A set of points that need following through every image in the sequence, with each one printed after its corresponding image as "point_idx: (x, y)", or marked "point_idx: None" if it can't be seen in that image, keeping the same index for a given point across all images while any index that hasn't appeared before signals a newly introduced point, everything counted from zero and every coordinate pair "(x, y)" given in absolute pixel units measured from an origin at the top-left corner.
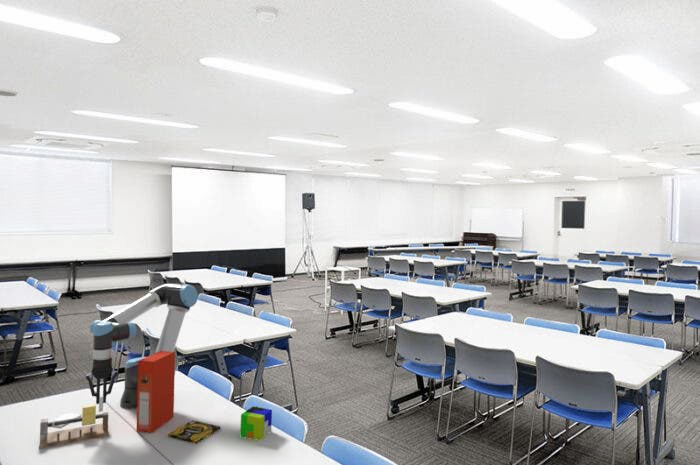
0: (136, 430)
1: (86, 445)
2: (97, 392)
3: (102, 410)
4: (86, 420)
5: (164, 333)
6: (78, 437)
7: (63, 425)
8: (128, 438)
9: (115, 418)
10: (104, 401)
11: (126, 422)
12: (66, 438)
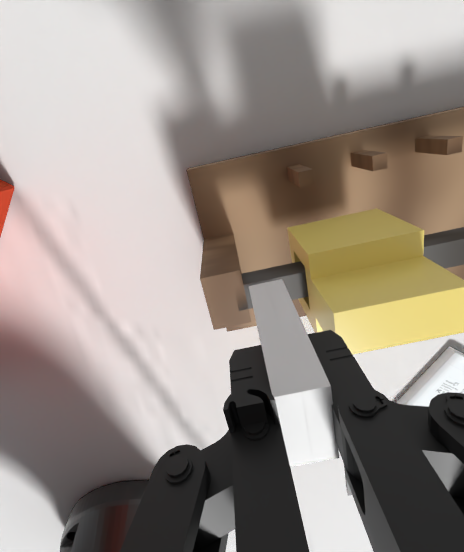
0: (12, 188)
1: (304, 35)
2: (413, 465)
3: (252, 290)
4: (364, 224)
5: None
6: (368, 148)
7: (439, 361)
8: (32, 77)
9: (199, 393)
10: (247, 359)
11: (126, 336)
12: (438, 154)
